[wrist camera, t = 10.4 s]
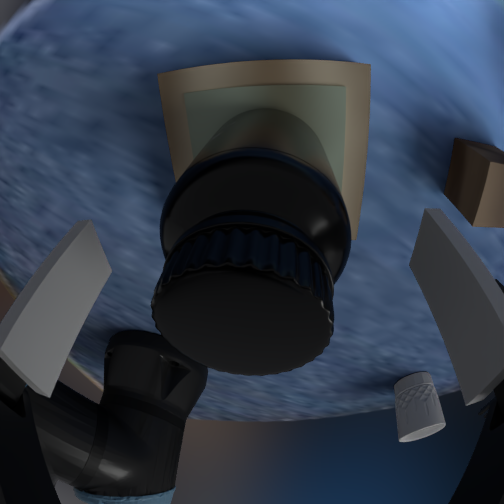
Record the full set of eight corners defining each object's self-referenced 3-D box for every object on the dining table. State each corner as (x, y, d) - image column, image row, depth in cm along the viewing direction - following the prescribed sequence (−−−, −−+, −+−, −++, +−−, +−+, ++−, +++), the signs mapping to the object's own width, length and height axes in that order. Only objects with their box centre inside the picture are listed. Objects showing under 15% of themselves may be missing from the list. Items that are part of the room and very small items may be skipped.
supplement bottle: (204, 108, 15) (75, 212, 5) (327, 108, 14) (418, 219, 5) (214, 211, 19) (154, 379, 9) (319, 214, 18) (345, 392, 9)
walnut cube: (443, 193, 20) (472, 226, 16) (454, 137, 17) (490, 161, 13) (483, 197, 19) (513, 228, 15) (495, 146, 16) (531, 171, 12)
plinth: (198, 220, 23) (188, 244, 21) (173, 71, 16) (155, 74, 13) (347, 217, 22) (356, 241, 20) (356, 63, 15) (371, 64, 12)
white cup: (389, 378, 38) (399, 435, 31) (435, 363, 36) (449, 419, 28) (390, 395, 43) (398, 445, 35) (430, 382, 40) (442, 431, 32)
